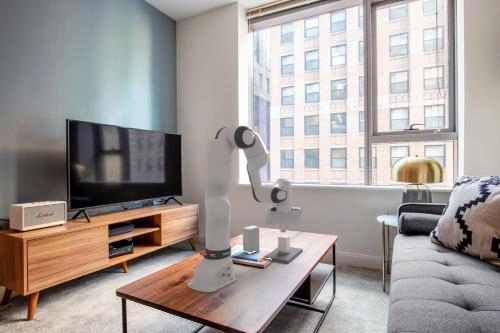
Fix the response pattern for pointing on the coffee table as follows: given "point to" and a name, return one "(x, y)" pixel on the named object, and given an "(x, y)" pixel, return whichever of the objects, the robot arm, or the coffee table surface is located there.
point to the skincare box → (251, 238)
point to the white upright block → (284, 243)
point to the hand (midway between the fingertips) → (283, 232)
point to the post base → (284, 255)
